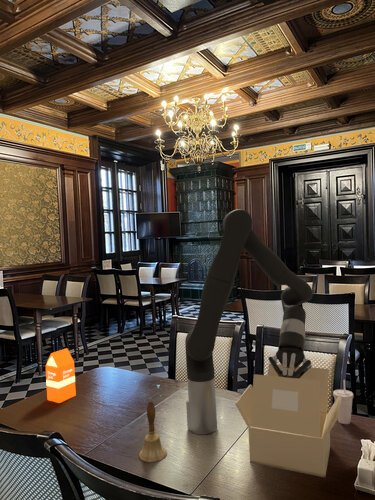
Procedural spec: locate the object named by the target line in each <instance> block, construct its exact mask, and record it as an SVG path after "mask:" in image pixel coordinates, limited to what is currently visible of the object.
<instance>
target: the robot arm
mask: <svg viewBox="0 0 375 500" xmlns="http://www.w3.org/2000/svg"><path fill="white" fill-rule="evenodd" d="M222 229H223V234H222V239H221V241H220V246H219V248H218V250H217V252H216V254H215V256H214V258H213V260H212V263H211V264H210V266H209V268H208V271H207V273H206V277H205V280H204V283H203V287H202V291H201V297H200V304H199V312H198V316H197V318H196V322H195V324H194V327H193V328H192V329H191V330H189V332H188V333H187V334H186V337H185V341H184V342H185V347H184V348H185V361H186V362H185V364H186V374H187V375H186V379H187V395H188V398H187V400H186V402H185V403H186V406H185V407H186V426H187V430H188V431H190V432H192V433H194V434H197V435H209V434H212V433H215V432H216V431H217V429H218V419H217V413H218V412H217V398H216V397H217V395H216V377H215V376H216V375H215V374H216V373H215V365H214V356H213V354H214V353H213V352H214V350H215V346H216V345H215V344H216V340H217V335H218V330H219V326H220V322H221V319H222V317H223V314H224V312H225V309H226V306H227V304H228V301H229V299H230V295H231V293H232V290H233V289H232V288H233V287H234V283H235V281H236V280H235V278H236V275H237V272H238V267H239V263H240V259H241V255H242V252H243V250H244V251H246V252H247V253H248V254H249V256H250V257H251V258H252V259H253V260H254V261H255V263H256V265H258V266H259V268H260V269H261V270H262V272H263V273H264V274H265V275H266V277H267V278H268V279H269V280H270V281H271V282H272V283H273V285H275V286H277V287H280V286H286V287H285V288H284V289H283V290H282V292H281V295H280V300H281V305H282V312H283V315H282V321H281V322H282V323H281V327H280V332H279V340H278V347H277V348H278V349H277V351H276V352H275V355H273V356H269V357H268V361H269V364H271V365H272V367H273V368H274V370H275V371H276V373H277V374H278V376H279V377H287V378H298V379H299V378H300V377H301V376H302V375H304V374H305V373H306V372H307V371H308V370H309V369H310V368H311V367H312V366H313V365H312V364H313V363H312V361H311V360H310V359H307V358H306V356H305V344H306V343H305V342H306V341H305V340H306V318H307V317H306V314H307V313H306V311H305V308H303V307H302V306H301V305H302V304H305V303H308V302H310V300H312V299H313V295H314V293H313V290H312V287H311V285H309V283H308V282H307V281H305V280H304V279H303V278H302V277H300V276H299V275H297V274H296V273H295V272H293V271H291V270H290V269H289V268H288V266H287V265H286V264H285V263H284V262H283V261H282V259H281V258H280V257H279V256H278V255H277V254H276V253H275V252H274V251H273V250H271V248H269V247H268V246H267V245H266V244H265V243H264V242H263V241H262V240H261V239H260V238H259V237H258V235H257V234H256V232H255V231H254V230H253V218H252V216H251V214H250V213H249V212H248V211H246V210H245V209H240V208H239V209H238V208H237V209H234V210H232V211H230V212H228V213H227V214H226V215H225V216H224V218H223V219H222ZM278 362H279V364H280V365H282V366H283V371H281V370H280V368H279V367H278V365H279V364H278ZM277 364H278V365H277ZM300 365H301V367H300V368H299V369H298V370H296V368H297V367H298V366H300ZM289 368H290V369H289ZM312 368H313V367H312ZM288 372H289V376H288Z"/></svg>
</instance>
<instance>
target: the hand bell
mask: <svg viewBox="0 0 375 500" xmlns="http://www.w3.org/2000/svg"><path fill="white" fill-rule="evenodd" d="M146 416H147V417H146V418H147V420H148V433H147V434H146V435H145V437H144V442H143V447H142V449H141V450H140V452H139V454H138V457H139V459H140V460H141V462H145V463H156V462H160V461H161V460H163V459H165V458H166V457H167V454H168V452H167V450H166V448H165V447H164V446H162V442H161V438H160V435H159V434H158V433H155V431H156V430H155V418H156V408H155V404H154V402H153V400H149V401H148V403H147V407H146Z"/></svg>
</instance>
